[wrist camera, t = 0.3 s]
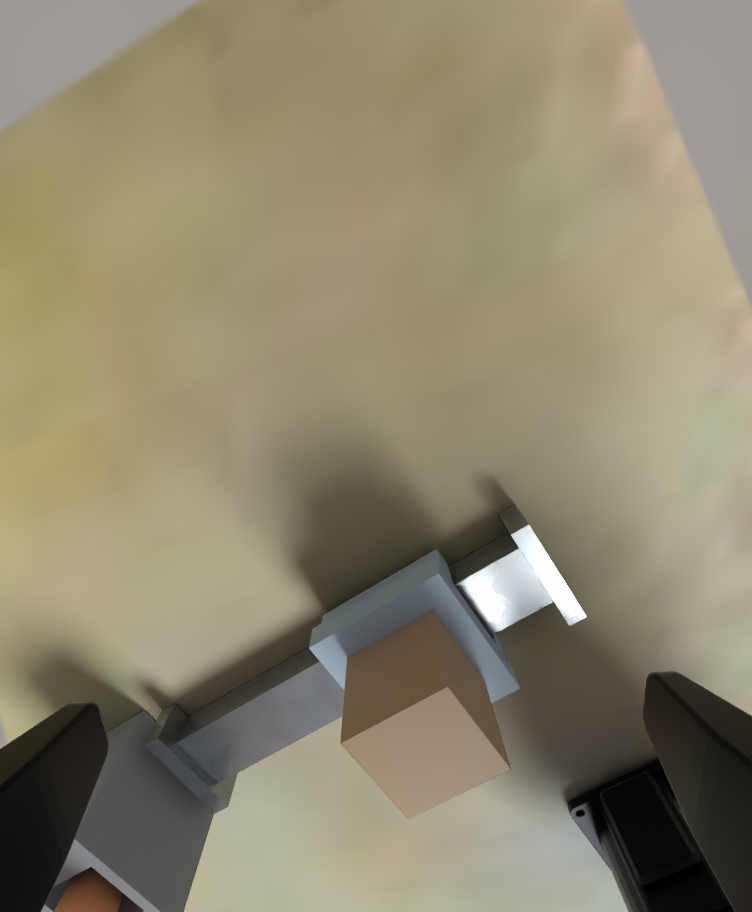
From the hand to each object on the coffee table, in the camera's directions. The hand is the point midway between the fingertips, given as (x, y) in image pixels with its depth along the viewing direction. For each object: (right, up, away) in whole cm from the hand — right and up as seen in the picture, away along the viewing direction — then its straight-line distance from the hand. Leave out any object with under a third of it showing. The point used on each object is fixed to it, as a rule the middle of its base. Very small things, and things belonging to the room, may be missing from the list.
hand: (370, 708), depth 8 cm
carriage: (+2, -3, +15) cm, 15 cm away
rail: (-1, -5, +15) cm, 16 cm away
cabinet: (-11, -12, +17) cm, 24 cm away
